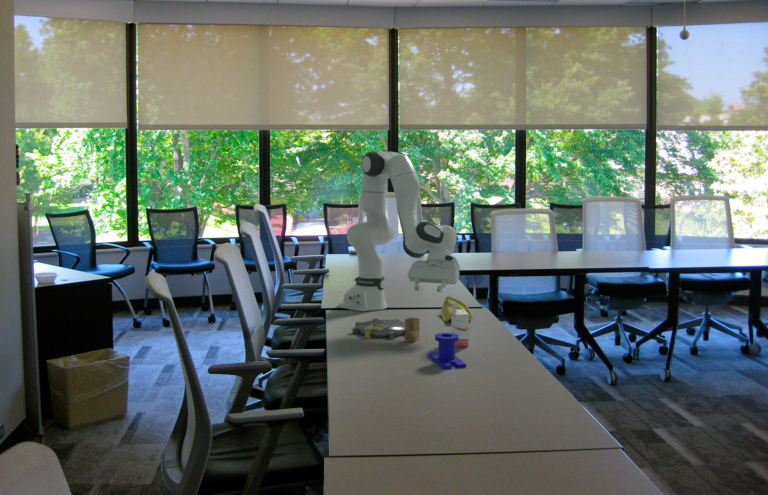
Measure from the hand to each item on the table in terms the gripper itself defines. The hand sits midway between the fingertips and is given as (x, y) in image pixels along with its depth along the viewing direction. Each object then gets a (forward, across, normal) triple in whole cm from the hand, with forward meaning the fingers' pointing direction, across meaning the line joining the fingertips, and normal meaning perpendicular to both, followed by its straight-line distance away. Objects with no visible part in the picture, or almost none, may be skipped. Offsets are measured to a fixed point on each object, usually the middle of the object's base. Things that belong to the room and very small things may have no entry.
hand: (427, 290), depth 234 cm
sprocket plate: (+15, -17, +7) cm, 24 cm away
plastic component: (-9, 0, +32) cm, 33 cm away
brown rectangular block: (+20, -1, +3) cm, 21 cm away
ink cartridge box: (+18, +16, +6) cm, 25 cm away
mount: (+33, +20, -8) cm, 40 cm away
